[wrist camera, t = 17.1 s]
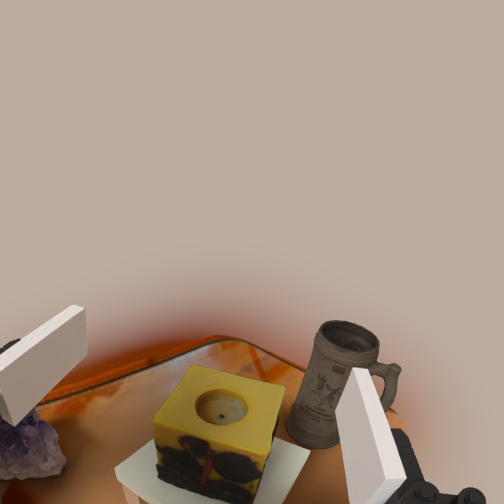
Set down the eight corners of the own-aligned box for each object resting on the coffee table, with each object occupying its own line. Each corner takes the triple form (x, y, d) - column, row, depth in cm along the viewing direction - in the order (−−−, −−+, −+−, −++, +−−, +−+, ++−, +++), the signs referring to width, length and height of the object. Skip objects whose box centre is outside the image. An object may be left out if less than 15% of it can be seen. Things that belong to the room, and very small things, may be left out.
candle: (270, 445, 33) (289, 385, 30) (252, 511, 23) (273, 457, 20) (189, 423, 34) (194, 360, 32) (154, 480, 25) (150, 419, 22)
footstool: (124, 504, 27) (114, 468, 25) (195, 441, 41) (199, 401, 39) (237, 571, 20) (250, 550, 18) (292, 487, 34) (310, 450, 32)
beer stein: (270, 431, 46) (308, 335, 40) (296, 399, 55) (330, 310, 49) (352, 468, 39) (412, 377, 34) (367, 430, 48) (416, 344, 43)
